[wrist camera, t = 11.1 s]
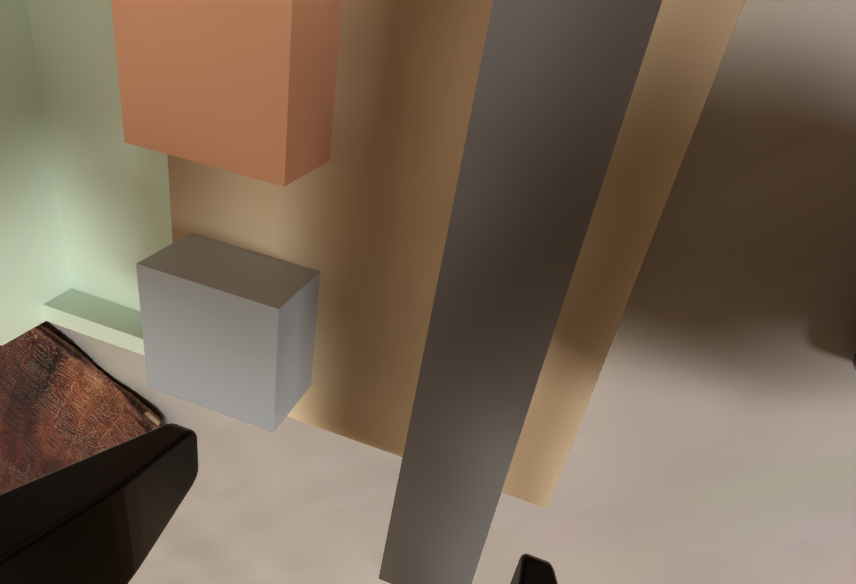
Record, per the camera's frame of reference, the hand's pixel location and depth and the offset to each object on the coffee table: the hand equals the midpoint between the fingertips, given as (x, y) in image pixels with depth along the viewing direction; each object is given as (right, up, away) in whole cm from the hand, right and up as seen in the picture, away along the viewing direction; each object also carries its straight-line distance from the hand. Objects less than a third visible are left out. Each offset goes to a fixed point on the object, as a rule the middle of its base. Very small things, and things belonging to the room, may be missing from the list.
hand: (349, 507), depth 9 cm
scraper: (+4, +4, +7) cm, 9 cm away
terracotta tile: (-3, +9, +7) cm, 12 cm away
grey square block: (-5, +3, +11) cm, 12 cm away
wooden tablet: (-17, -12, +26) cm, 33 cm away
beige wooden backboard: (+1, +6, +11) cm, 12 cm away
